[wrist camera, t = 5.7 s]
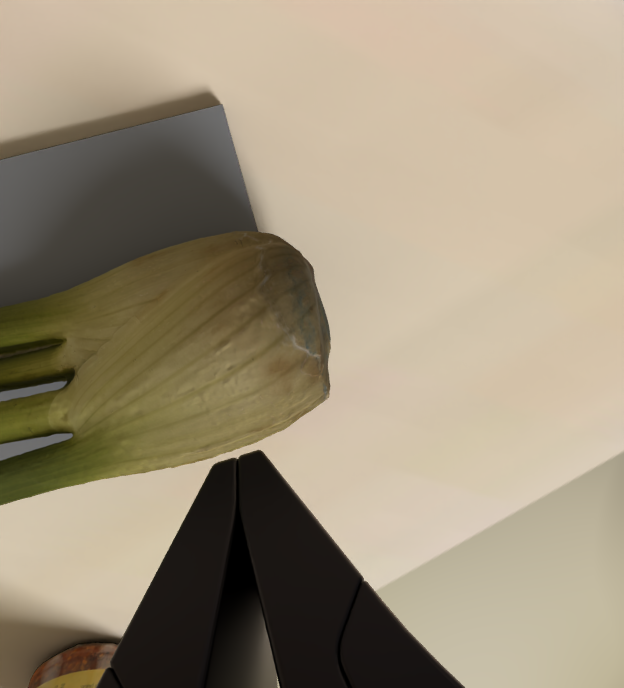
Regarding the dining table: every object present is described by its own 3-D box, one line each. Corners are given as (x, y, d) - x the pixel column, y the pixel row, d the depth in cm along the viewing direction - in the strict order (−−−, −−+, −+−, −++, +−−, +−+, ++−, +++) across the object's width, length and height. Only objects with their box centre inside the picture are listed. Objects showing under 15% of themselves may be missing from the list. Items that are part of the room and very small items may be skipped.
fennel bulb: (358, 440, 13) (-62, 543, 13) (335, 364, 17) (25, 441, 17) (308, 231, 10) (-200, 360, 11) (297, 206, 15) (-59, 297, 15)
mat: (221, 104, 13) (222, 104, 13) (305, 402, 19) (306, 407, 18) (-206, 211, 13) (-218, 214, 12) (8, 491, 18) (4, 498, 18)
